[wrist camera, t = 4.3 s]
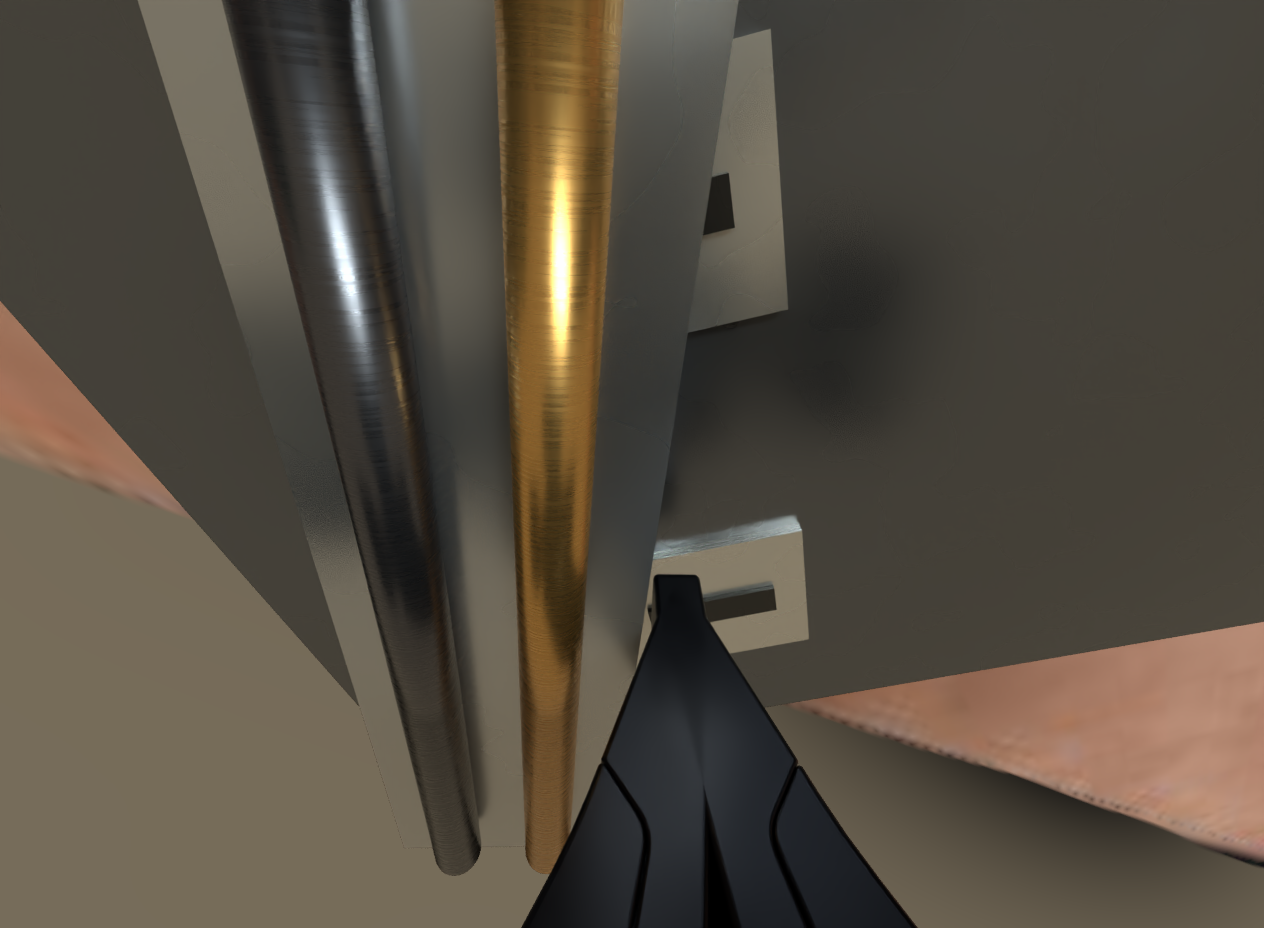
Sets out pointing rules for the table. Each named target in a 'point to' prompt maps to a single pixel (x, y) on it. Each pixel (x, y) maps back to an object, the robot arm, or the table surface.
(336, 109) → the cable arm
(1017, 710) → the table surface
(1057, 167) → the grey flat block
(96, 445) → the table surface
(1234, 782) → the table surface
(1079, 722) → the table surface
